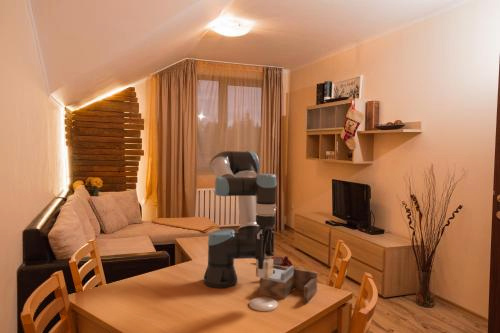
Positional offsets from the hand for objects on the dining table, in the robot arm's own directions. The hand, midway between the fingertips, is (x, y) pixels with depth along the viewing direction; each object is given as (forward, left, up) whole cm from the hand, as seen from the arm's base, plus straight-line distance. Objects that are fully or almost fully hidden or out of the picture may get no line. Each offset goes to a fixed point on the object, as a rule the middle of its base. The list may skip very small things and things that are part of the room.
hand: (264, 274), depth 141 cm
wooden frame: (+4, +17, -12) cm, 21 cm away
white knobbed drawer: (-1, +16, -6) cm, 17 cm away
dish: (0, 0, -12) cm, 12 cm away
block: (0, 0, 0) cm, 0 cm away
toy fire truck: (-5, +31, -12) cm, 34 cm away
